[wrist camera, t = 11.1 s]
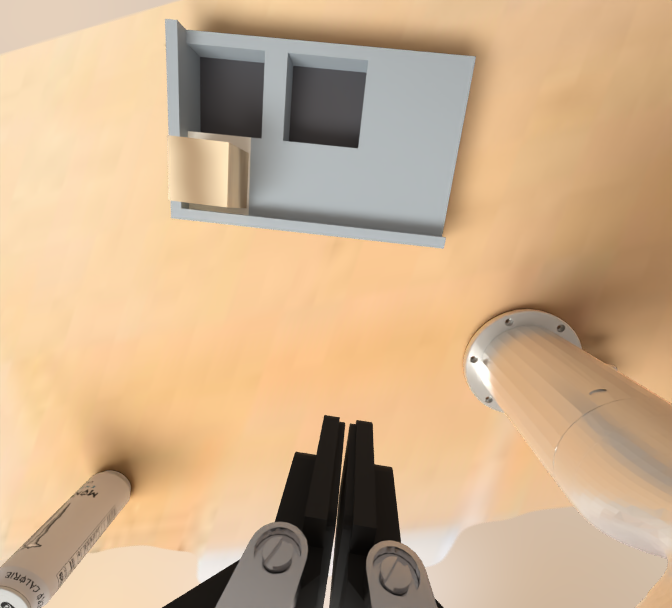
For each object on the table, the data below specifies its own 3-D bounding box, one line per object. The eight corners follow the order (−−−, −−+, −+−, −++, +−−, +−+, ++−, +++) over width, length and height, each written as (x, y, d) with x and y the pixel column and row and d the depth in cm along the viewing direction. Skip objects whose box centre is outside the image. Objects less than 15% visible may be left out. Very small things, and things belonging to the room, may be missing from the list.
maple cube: (248, 153, 31) (228, 142, 26) (246, 208, 32) (227, 207, 28) (196, 147, 31) (167, 135, 26) (196, 202, 32) (168, 200, 28)
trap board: (464, 71, 31) (482, 47, 26) (433, 244, 35) (443, 248, 31) (191, 45, 32) (165, 18, 27) (193, 217, 36) (171, 218, 32)
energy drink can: (113, 460, 45) (0, 575, 31) (143, 490, 46) (47, 615, 32) (84, 478, 47) (-38, 597, 32) (114, 508, 48) (8, 635, 33)
